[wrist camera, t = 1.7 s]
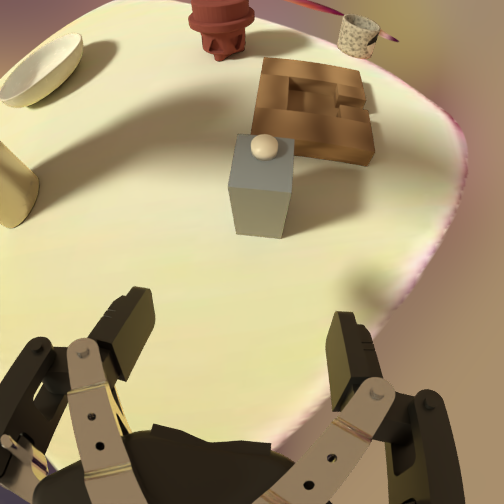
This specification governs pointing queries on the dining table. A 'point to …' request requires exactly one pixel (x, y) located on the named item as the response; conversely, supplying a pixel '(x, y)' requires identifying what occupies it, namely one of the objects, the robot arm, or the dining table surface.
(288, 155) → the block
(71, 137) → the dining table surface
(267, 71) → the plate
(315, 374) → the dining table surface
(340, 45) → the mug
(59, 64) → the serving bowl
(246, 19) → the mechanical component
